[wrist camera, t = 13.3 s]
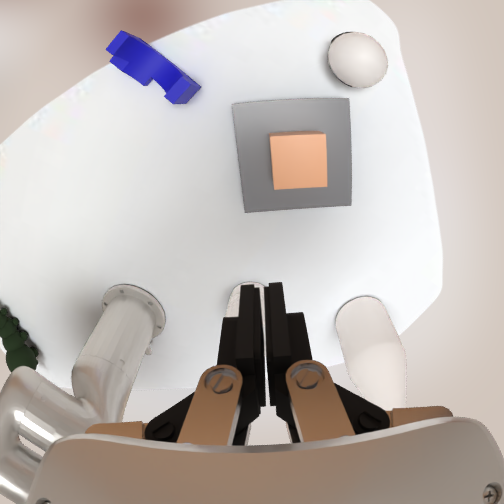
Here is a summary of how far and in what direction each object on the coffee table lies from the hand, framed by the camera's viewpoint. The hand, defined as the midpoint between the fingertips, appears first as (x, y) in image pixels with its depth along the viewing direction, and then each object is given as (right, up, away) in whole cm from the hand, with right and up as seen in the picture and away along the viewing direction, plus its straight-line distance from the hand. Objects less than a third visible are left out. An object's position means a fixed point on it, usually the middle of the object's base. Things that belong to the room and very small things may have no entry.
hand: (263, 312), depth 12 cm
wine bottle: (+19, -9, +38) cm, 43 cm away
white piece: (+11, +27, +19) cm, 34 cm away
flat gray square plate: (+5, +16, +25) cm, 30 cm away
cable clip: (-13, +26, +20) cm, 35 cm away
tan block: (+5, +15, +24) cm, 29 cm away
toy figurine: (-62, -19, +46) cm, 79 cm away
